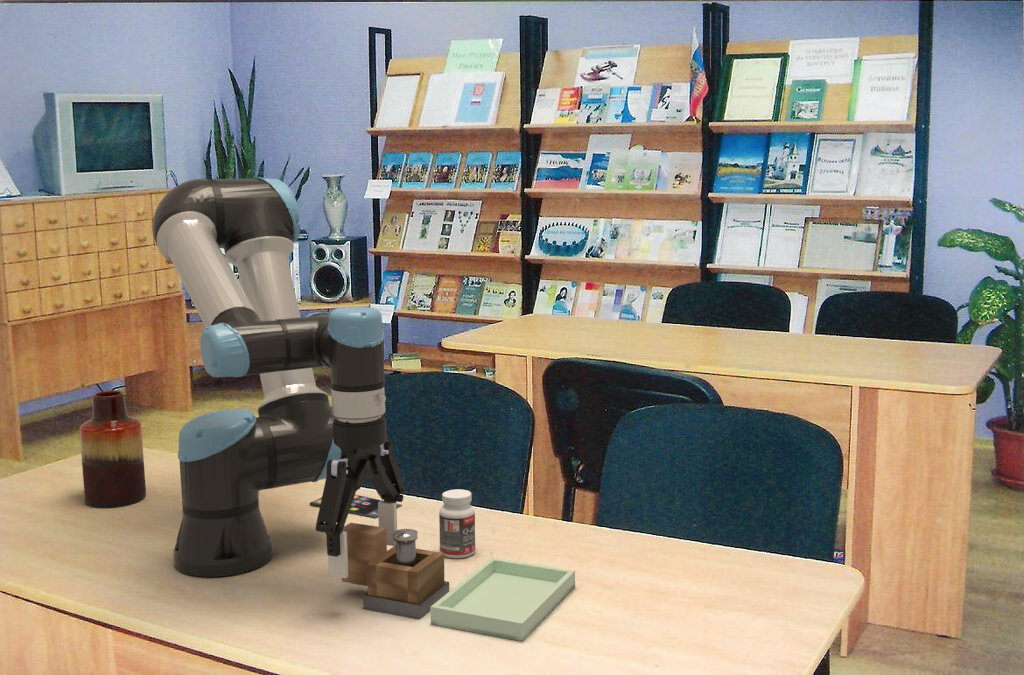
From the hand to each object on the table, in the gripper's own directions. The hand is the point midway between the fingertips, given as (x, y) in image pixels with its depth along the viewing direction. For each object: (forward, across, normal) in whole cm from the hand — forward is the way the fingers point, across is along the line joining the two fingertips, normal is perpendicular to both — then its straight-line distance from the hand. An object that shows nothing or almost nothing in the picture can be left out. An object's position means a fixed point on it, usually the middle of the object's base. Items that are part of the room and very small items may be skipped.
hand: (364, 559), depth 154 cm
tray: (+5, +5, -20) cm, 22 cm away
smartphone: (+6, +34, +23) cm, 42 cm away
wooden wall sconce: (+3, 0, -4) cm, 5 cm away
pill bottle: (+6, +20, -5) cm, 21 cm away
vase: (+5, +20, +67) cm, 70 cm away
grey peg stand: (+5, 0, -7) cm, 9 cm away
